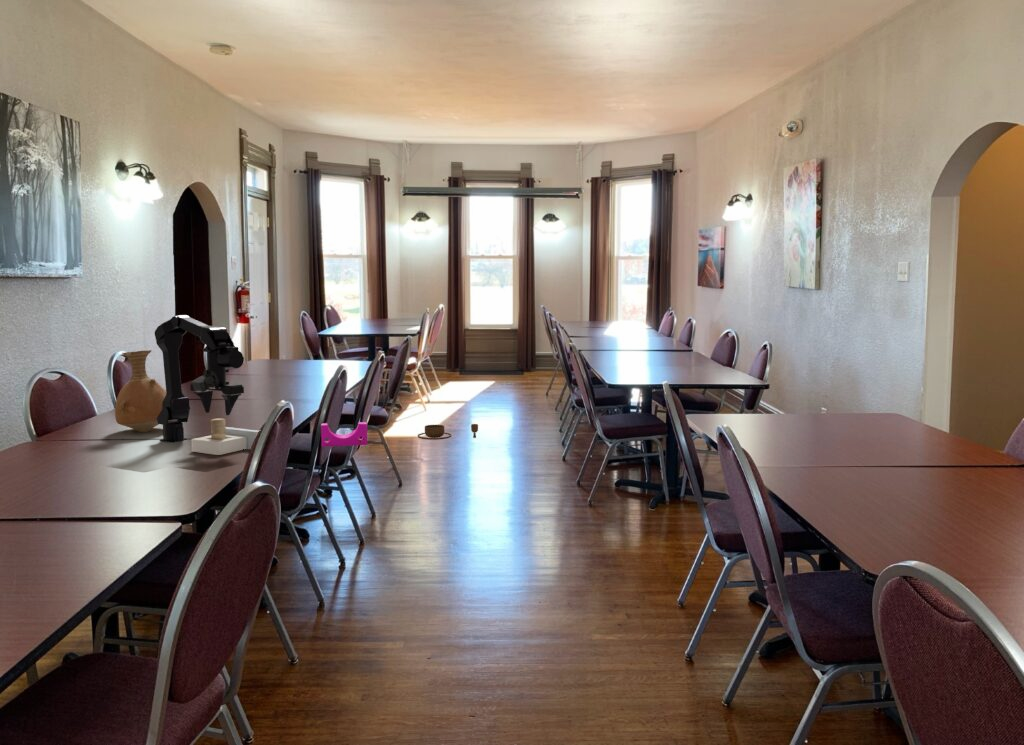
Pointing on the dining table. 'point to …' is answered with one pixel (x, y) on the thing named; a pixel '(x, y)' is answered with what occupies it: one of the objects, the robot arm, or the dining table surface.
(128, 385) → the jug
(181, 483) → the dining table surface
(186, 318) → the robot arm
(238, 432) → the board
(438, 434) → the place setting
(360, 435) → the toy block
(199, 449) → the socket block
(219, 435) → the dowel
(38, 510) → the dining table surface
